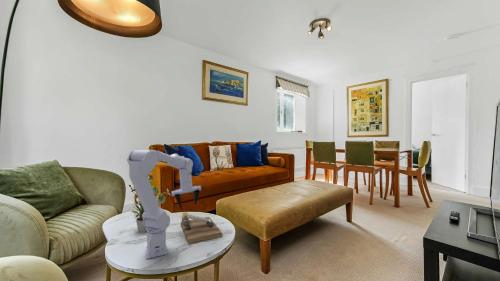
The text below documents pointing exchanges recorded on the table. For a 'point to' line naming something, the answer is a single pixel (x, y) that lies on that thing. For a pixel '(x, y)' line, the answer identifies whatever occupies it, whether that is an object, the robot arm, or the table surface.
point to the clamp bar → (199, 218)
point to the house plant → (140, 219)
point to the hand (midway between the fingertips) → (188, 205)
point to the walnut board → (199, 230)
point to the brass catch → (185, 215)
